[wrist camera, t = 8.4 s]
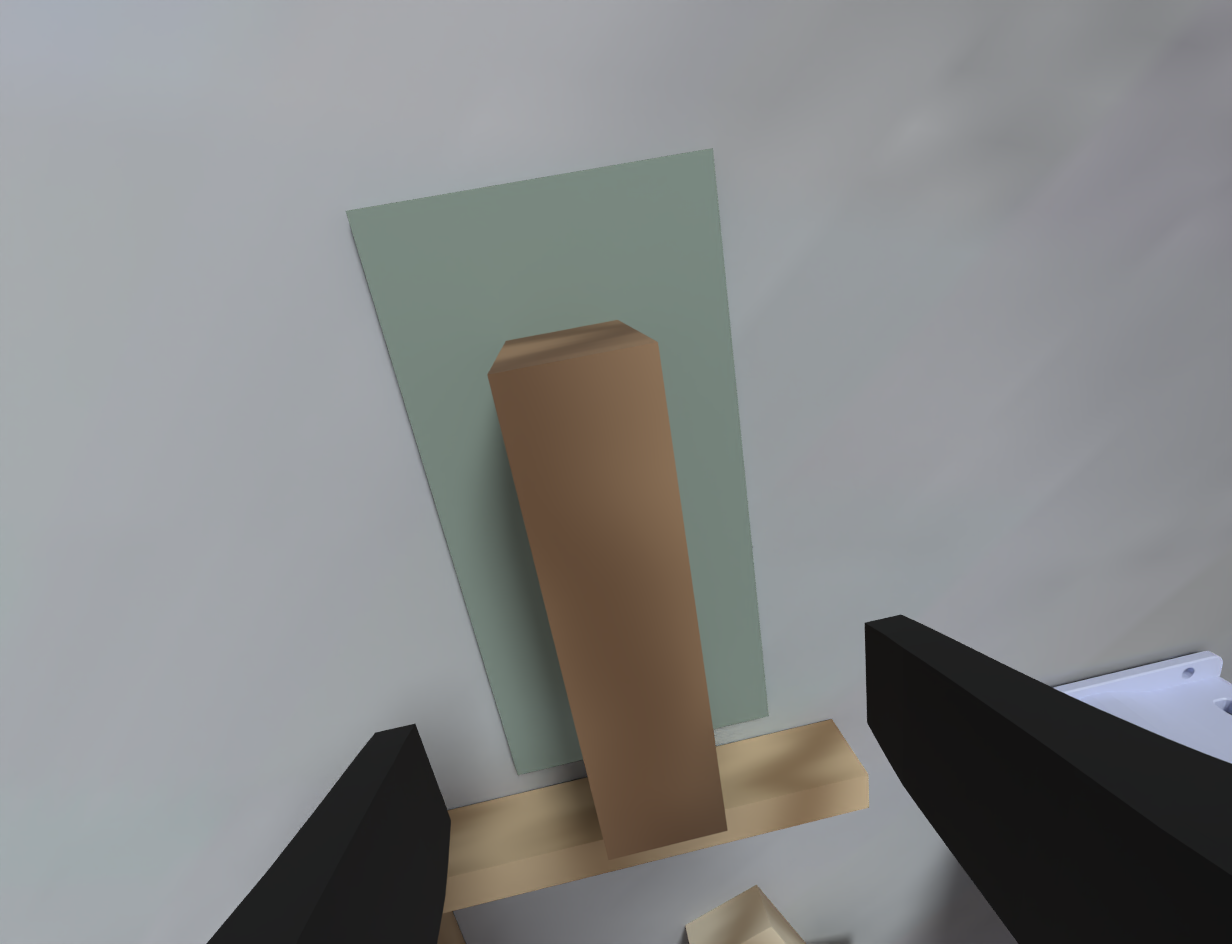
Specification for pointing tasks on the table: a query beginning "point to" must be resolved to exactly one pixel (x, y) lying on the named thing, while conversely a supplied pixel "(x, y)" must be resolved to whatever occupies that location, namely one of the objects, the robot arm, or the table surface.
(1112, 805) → the robot arm
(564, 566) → the tall brown wooden post
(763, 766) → the oak rack
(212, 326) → the table surface
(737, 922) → the offcut low
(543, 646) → the rubber mat
